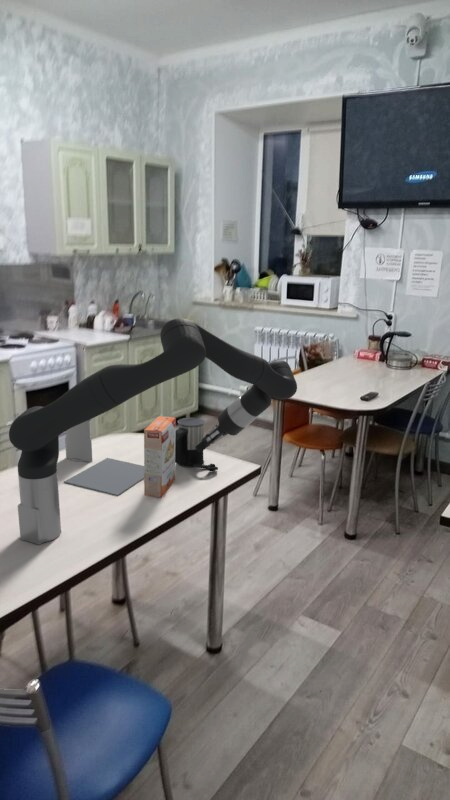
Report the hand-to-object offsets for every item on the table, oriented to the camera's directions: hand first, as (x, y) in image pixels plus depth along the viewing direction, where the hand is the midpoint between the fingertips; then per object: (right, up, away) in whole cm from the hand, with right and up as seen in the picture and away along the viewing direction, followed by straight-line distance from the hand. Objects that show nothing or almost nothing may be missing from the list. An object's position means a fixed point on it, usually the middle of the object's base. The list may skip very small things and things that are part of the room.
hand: (198, 449), depth 164 cm
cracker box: (-12, -13, +9) cm, 20 cm away
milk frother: (-2, -8, +26) cm, 27 cm away
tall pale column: (-42, -6, +29) cm, 51 cm away
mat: (-28, -10, +17) cm, 34 cm away
